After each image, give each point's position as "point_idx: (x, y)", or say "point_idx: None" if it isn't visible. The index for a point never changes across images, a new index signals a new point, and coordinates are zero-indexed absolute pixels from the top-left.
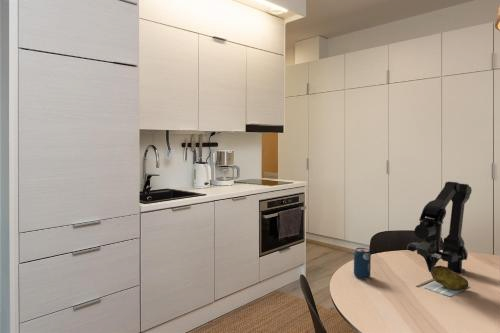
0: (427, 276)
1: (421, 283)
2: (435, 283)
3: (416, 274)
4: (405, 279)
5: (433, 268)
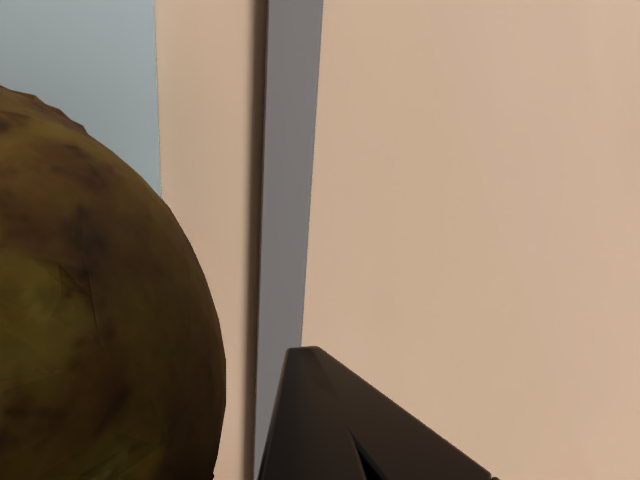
0: None
1: (319, 36)
2: None
3: (541, 368)
4: (616, 13)
5: (73, 344)
